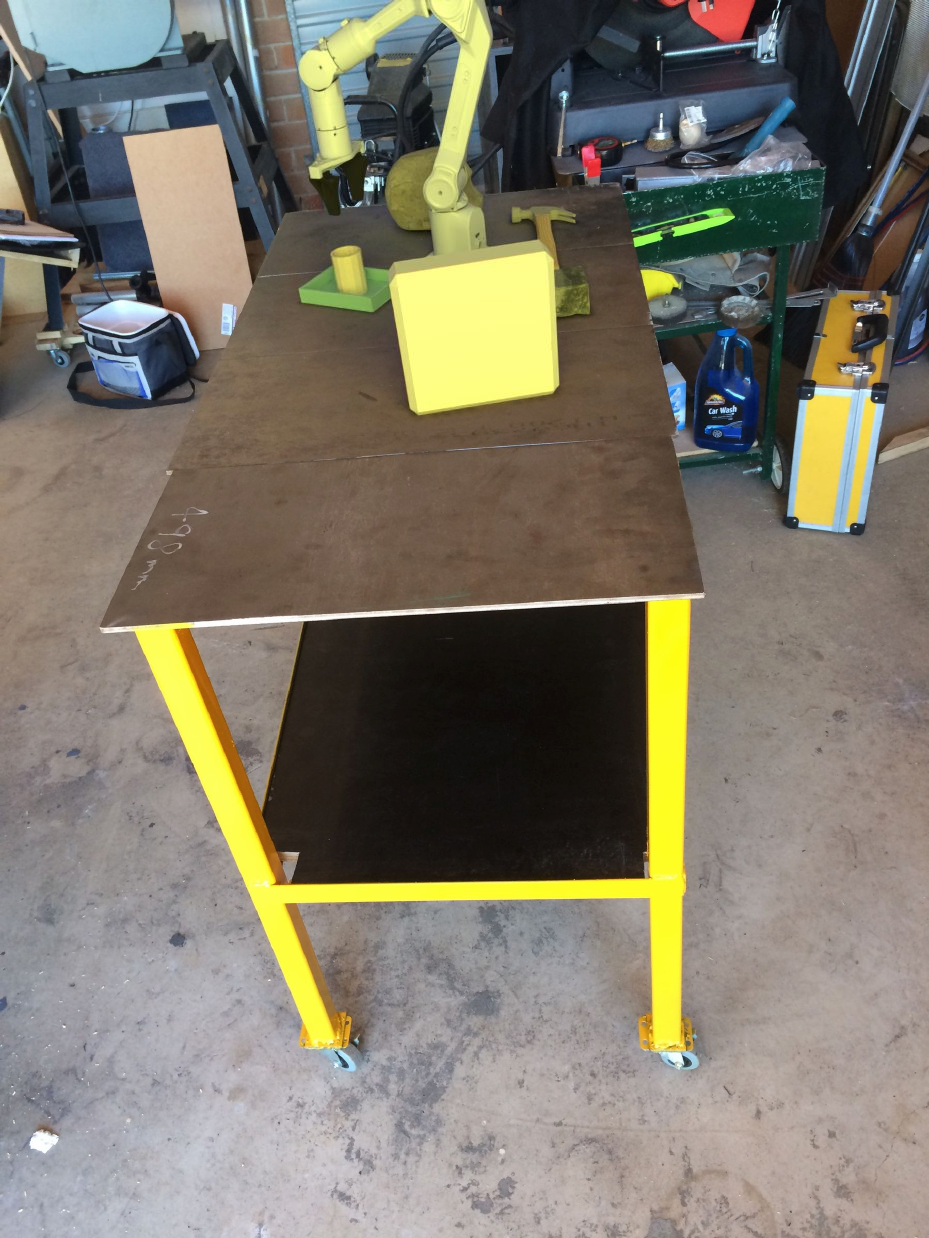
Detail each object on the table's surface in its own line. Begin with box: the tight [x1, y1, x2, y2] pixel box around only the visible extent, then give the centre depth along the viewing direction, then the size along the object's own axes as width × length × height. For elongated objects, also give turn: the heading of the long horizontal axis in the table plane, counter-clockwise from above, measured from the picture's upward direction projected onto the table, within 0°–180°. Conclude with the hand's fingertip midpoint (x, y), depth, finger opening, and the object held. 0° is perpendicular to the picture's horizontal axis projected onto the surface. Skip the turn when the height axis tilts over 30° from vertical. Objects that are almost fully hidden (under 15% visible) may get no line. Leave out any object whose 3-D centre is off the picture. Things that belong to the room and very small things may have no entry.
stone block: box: [554, 265, 591, 318], centre depth 150 cm, size 9×14×5 cm, turn 92°
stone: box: [384, 145, 484, 231], centre depth 179 cm, size 19×7×15 cm, turn 77°
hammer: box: [511, 205, 576, 270], centre depth 171 cm, size 12×3×30 cm
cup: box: [330, 245, 368, 295], centre depth 162 cm, size 5×5×7 cm
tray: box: [298, 265, 392, 313], centre depth 164 cm, size 15×11×2 cm
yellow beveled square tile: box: [388, 239, 560, 416], centre depth 126 cm, size 21×8×20 cm, turn 97°
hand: (346, 207), depth 171 cm, fingers open, 7 cm apart
